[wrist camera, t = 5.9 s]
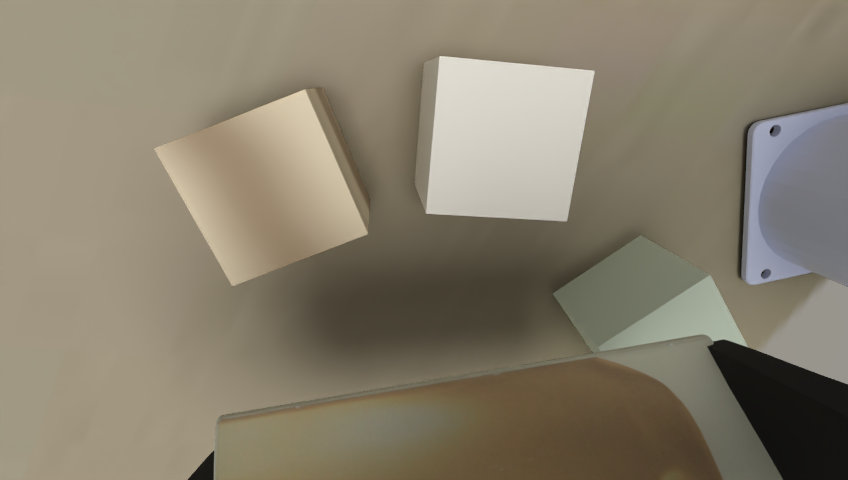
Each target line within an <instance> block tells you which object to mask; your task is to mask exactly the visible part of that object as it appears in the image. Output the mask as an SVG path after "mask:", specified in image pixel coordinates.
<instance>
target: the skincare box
mask: <svg viewBox="0 0 848 480" xmlns="http://www.w3.org/2000/svg"><path fill="white" fill-rule="evenodd" d="M713 344H714V343H713V341H712V339H711V338H710V337H709V336H707V335H704V334H701V335H695V336H688V337H683V338H677V339H671V340H665V341H659V342H654V343H648V344H642V345H636V346H631V347H625V348H619V349H613V350H607V351H601V352H595V353H589V354H583V355H577V356H571V357H565V358H559V359H554V360H548V361H542V362H536V363H530V364H524V365H518V366H512V367H506V368H499V369H493V370H487V371H481V372H475V373H469V374H463V375H457V376H451V377H445V378H440V379H434V380H428V381H422V382H416V383H410V384H404V385H398V386H392V387H386V388H381V389H375V390H369V391H363V392H358V393H352V394H346V395H340V396H334V397H328V398H322V399H316V400H310V401H304V402H297V403H291V404H285V405H279V406H273V407H268V408H262V409H256V410H250V411H244V412H238V413H232V414H226V415H221V416H220V417H219V418H218V420H217V423H216V437H215V451H214V480H783V478H782V477H781V475H780V473H779V471H778V470H777V468H776V466H775V465H774V463H773V461H772V459H771V458H770V456H769V454H768V452H767V451H766V449H765V447H764V446H763V444H762V442H761V440H760V439H759V437H758V435H757V434H756V432H755V430H754V429H753V427H752V425H751V423H750V422H749V420H748V418H747V417H746V415H745V413H744V412H743V410H742V408H741V406H740V405H739V403H738V401H737V400H736V398H735V396H734V395H733V393H732V391H731V390H730V388H729V386H728V384H727V383H726V381H725V379H724V377H723V375H722V373H721V371H720V369H719V368H718V366H717V364H716V362H715V360H714V358H713V357H712V355H711V353H710V351H709V349H708V347H707V346H710V345H713Z"/></svg>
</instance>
